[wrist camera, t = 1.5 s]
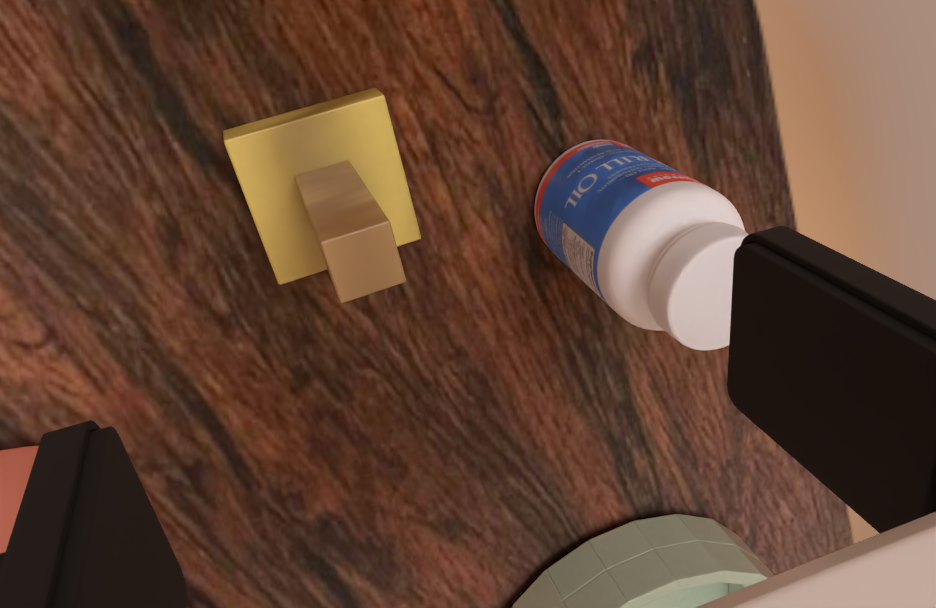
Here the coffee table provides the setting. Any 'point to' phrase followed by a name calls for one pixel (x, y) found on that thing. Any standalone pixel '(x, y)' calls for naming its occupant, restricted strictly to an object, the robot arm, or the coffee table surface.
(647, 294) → the pill bottle
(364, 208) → the square plate with grip
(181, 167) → the coffee table surface
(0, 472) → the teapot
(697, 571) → the bowl
